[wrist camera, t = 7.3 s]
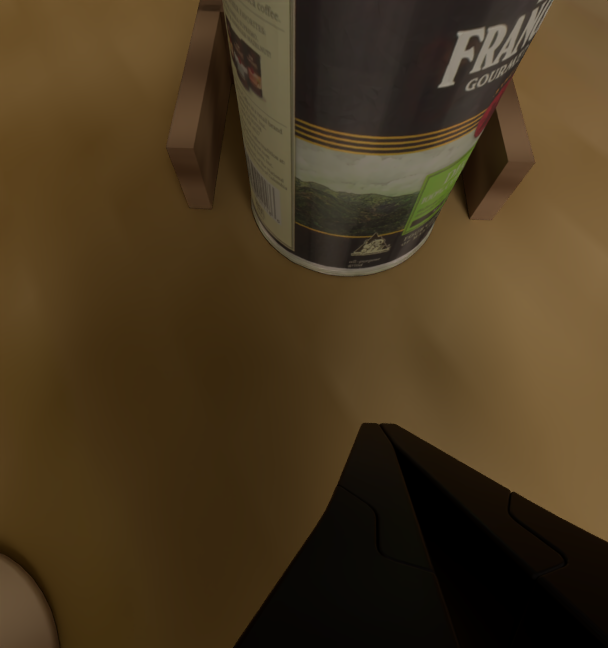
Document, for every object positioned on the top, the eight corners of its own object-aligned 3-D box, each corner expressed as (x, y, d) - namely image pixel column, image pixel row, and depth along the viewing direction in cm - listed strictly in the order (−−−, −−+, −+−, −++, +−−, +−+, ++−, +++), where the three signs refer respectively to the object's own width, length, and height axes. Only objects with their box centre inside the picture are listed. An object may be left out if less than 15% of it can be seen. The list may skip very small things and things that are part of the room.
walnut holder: (491, 219, 20) (535, 162, 17) (189, 207, 20) (165, 147, 17) (464, 81, 25) (494, 10, 21) (214, 70, 25) (200, -3, 21)
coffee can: (468, 182, 21) (738, -278, 8) (372, 315, 18) (572, -107, 5) (321, 105, 24) (353, -358, 11) (211, 210, 20) (59, -274, 7)
